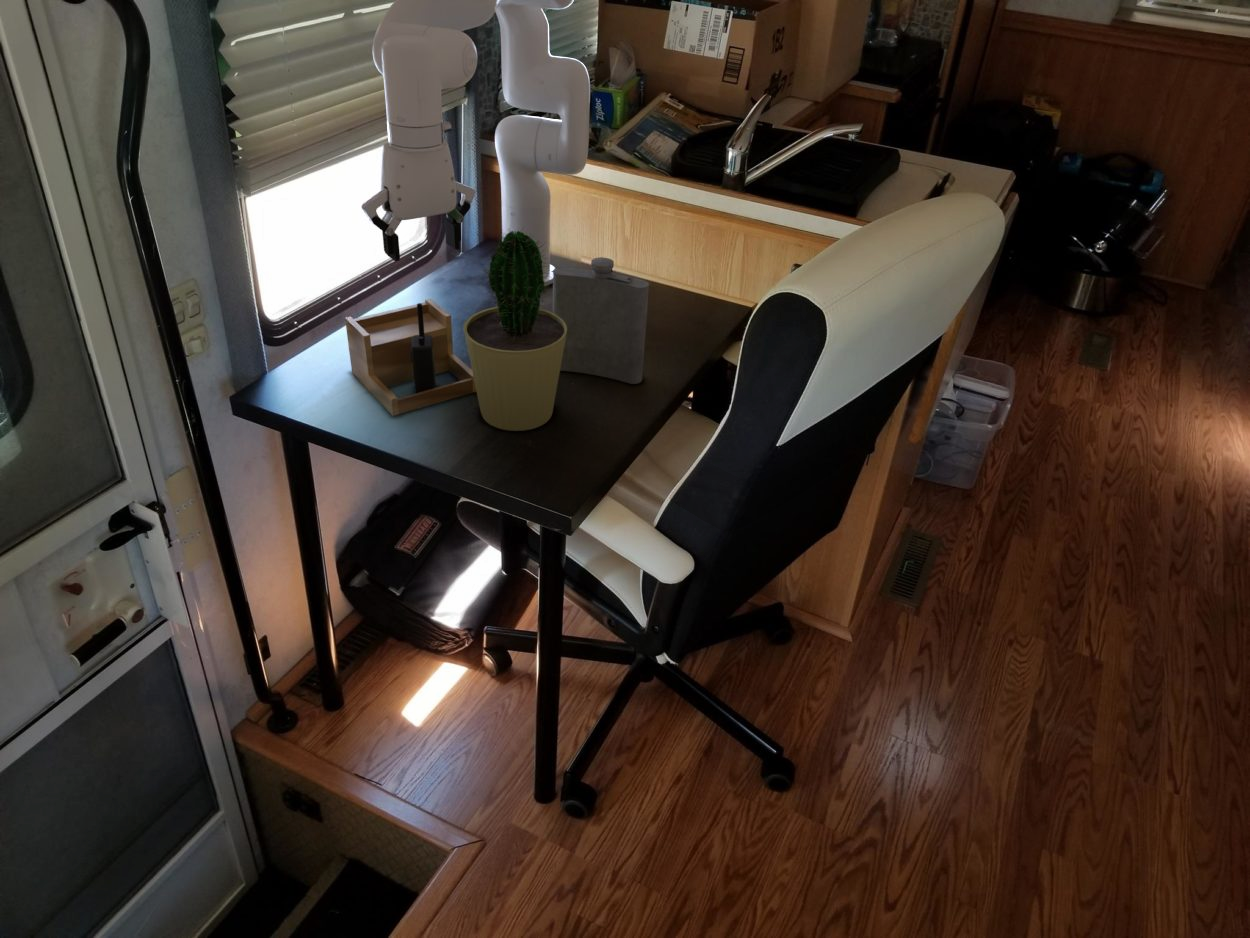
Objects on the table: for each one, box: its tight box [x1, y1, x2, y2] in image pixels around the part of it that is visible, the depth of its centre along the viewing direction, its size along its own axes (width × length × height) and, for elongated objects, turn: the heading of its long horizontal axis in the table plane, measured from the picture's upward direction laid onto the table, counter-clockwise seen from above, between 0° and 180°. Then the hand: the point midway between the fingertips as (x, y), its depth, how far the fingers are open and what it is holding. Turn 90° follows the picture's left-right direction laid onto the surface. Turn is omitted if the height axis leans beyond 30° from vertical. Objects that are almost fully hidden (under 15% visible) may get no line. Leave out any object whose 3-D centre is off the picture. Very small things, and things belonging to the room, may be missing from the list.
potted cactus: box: [462, 227, 567, 432], centre depth 139 cm, size 15×15×30 cm
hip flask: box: [552, 256, 650, 385], centre depth 154 cm, size 16×4×20 cm, turn 75°
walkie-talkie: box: [411, 302, 437, 394], centre depth 147 cm, size 5×3×15 cm
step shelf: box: [344, 298, 477, 417], centre depth 151 cm, size 16×15×10 cm
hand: (423, 252), depth 139 cm, fingers open, 9 cm apart
